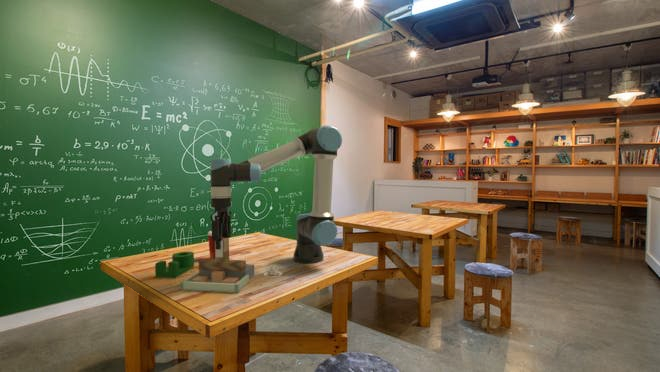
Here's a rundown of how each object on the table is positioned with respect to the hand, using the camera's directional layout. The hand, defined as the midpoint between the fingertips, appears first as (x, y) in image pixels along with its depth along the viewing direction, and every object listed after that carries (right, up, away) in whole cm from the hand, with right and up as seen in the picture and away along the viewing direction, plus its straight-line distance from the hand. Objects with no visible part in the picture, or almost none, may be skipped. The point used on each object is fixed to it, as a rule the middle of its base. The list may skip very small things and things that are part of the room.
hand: (222, 255), depth 129 cm
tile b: (0, -8, -2) cm, 8 cm away
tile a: (+5, -8, -6) cm, 11 cm away
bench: (0, -10, +5) cm, 11 cm away
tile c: (-7, -8, -5) cm, 12 cm away
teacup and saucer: (+21, -11, +11) cm, 26 cm away
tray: (-1, -11, -5) cm, 12 cm away
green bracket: (-25, -10, +14) cm, 30 cm away
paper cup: (-14, -9, +33) cm, 37 cm away
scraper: (0, -5, 0) cm, 5 cm away
